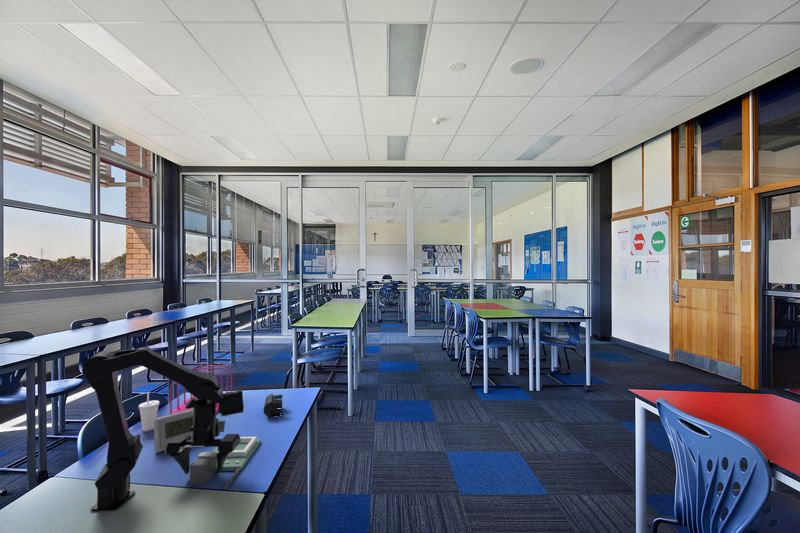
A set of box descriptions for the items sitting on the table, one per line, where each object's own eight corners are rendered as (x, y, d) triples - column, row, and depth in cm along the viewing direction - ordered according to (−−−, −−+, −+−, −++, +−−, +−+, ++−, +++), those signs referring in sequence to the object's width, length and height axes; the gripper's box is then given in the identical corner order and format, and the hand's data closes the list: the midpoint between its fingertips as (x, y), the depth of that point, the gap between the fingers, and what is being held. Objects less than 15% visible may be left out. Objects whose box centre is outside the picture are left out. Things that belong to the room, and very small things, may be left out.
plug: (205, 484, 91) (206, 463, 91) (189, 485, 90) (190, 463, 91) (216, 471, 97) (217, 451, 97) (201, 471, 96) (201, 451, 97)
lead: (227, 490, 88) (227, 486, 88) (223, 490, 88) (223, 486, 88) (245, 464, 100) (245, 461, 100) (242, 464, 100) (242, 461, 100)
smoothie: (133, 431, 120) (134, 394, 120) (150, 423, 126) (151, 388, 126) (146, 433, 118) (147, 396, 119) (163, 425, 125) (164, 390, 125)
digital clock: (151, 456, 104) (152, 423, 105) (154, 443, 112) (155, 413, 112) (209, 442, 113) (209, 412, 113) (208, 431, 121) (208, 403, 121)
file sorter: (166, 420, 129) (167, 381, 130) (195, 396, 154) (196, 364, 154) (212, 417, 132) (213, 379, 133) (233, 394, 157) (234, 362, 157)
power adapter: (265, 409, 140) (265, 394, 141) (282, 407, 143) (282, 392, 143) (263, 419, 131) (263, 402, 131) (281, 417, 133) (281, 400, 133)
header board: (241, 470, 97) (241, 461, 97) (197, 471, 96) (197, 462, 96) (260, 442, 113) (260, 434, 113) (223, 443, 112) (223, 435, 112)
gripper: (248, 407, 102) (247, 456, 102) (188, 408, 101) (187, 457, 101) (232, 423, 91) (231, 478, 91) (164, 425, 90) (163, 480, 90)
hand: (203, 472), depth 94 cm, fingers open, 9 cm apart
